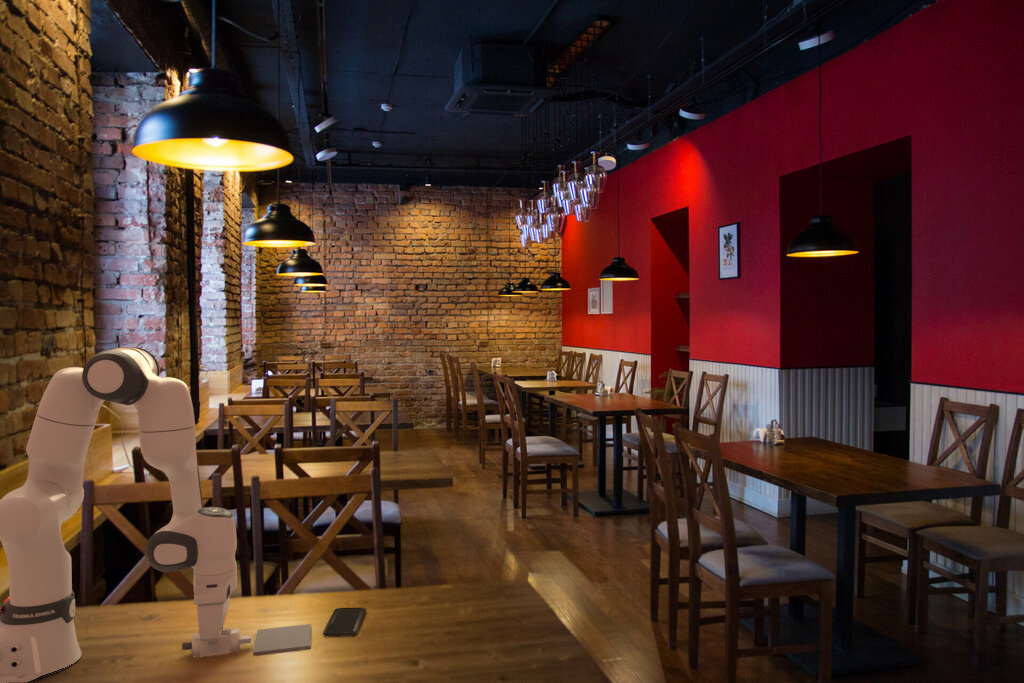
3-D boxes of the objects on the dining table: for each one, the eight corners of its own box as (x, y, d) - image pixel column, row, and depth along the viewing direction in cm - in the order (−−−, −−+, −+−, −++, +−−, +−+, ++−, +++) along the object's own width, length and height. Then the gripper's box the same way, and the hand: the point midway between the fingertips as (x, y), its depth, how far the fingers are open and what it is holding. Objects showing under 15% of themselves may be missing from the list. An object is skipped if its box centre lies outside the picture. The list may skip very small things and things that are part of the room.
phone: (366, 607, 180) (355, 632, 165) (366, 611, 180) (356, 637, 165) (335, 607, 180) (321, 633, 165) (335, 612, 180) (321, 638, 165)
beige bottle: (181, 659, 154) (180, 641, 154) (184, 651, 158) (184, 633, 158) (250, 651, 158) (250, 633, 158) (251, 643, 162) (251, 626, 161)
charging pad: (253, 654, 156) (253, 652, 156) (257, 632, 168) (257, 629, 167) (310, 648, 159) (310, 645, 159) (310, 626, 171) (310, 623, 171)
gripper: (207, 567, 167) (207, 626, 167) (192, 600, 147) (193, 666, 147) (235, 565, 168) (236, 623, 169) (225, 597, 148) (225, 663, 149)
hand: (216, 644), depth 158 cm, fingers open, 6 cm apart
